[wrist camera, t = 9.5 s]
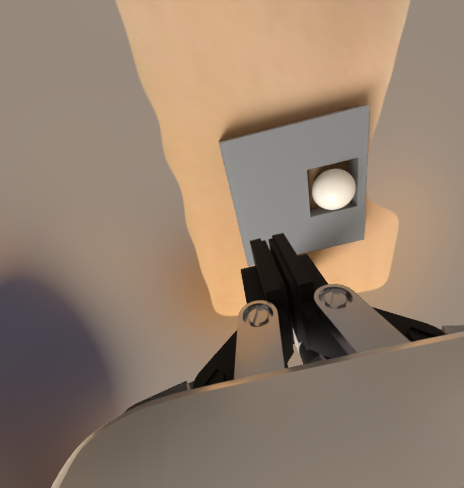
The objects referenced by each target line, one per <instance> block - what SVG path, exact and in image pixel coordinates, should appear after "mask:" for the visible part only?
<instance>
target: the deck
mask: <svg viewBox="0 0 464 488" xmlns="http://www.w3.org/2000/svg"><path fill="white" fill-rule="evenodd" d="M369 111H370V105H362V106H355V107H352V108H348V109H344V110H340V111H336V112H332V113H328V114H324V115H320V116H316V117H313V118H309V119H305V120H301V121H297V122H293V123H289V124H285V125H281V126H277V127H273V128H270V129H266V130H262V131H258V132H254V133H250V134H246V135H242V136H238V137H234V138H230V139H227V140H223V141H219V145H220V149H221V153H222V157H223V162H224V166H225V170H226V174H227V179H228V183H229V187H230V191H231V196H232V200H233V204H234V208H235V213H236V217H237V221H238V225H239V230H240V234H241V238H242V242H243V247H244V251H245V255H246V259H247V264H248V266H251V265H255V263H254V259H253V254H252V250H251V245H250V241H251V240H255V239H259V238H261V241H263V240H266V243H267V245H268V247H269V249H270V246H269V239H271V238H272V235H276V234H280V233H284V235H285V236H286V238H287V239H288V241H289V243H290V244H291V246H292V247H293V249H294V251H295V252H296V254H297V255H298V254H303V253H307V252H311V251H316V250H320V249H324V248H329V247H333V246H337V245H342V244H346V243H350V242H355V241H359V240H363V239H364V230H365V206H366V182H367V158H368V135H369ZM346 160H348V173H349V174H350V175H351V176H352V177H353V179H354V181H355V185H356V190H355V194H354V196H353V198H352V200H351V201H350V202H349V203H348V204H347V205H346V206H344V207H342V208H340V209H336V210H328V209H324V208H322V207H318V208H314V209H310V205H309V191H308V178H307V170H309V169H314V168H318V167H322V166H326V165H330V164H334V163H338V162H342V161H346Z"/></svg>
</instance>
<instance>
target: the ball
mask: <svg viewBox="0 0 464 488" xmlns="http://www.w3.org/2000/svg"><path fill="white" fill-rule="evenodd" d="M355 190H356V185H355V181H354V179H353V177H352V176H351V175H350V174H349V173H348V172H347V171H345V170H342V169H329V170H326V171H324V172H323V173H321V174H320V175H319V176H318V177H317V178H316V179H315V181H314V183H313V186H312V196H313V199H314V201H315V202H316V203H317V204H318V205H319V206H320V207H322V208H324V209H328V210H336V209H340V208H342V207H344V206H346V205H347V204H348V203H349V202H350V201H351V200H352V198H353V196H354V194H355Z"/></svg>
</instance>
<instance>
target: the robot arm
mask: <svg viewBox="0 0 464 488" xmlns="http://www.w3.org/2000/svg"><path fill="white" fill-rule="evenodd" d="M250 245H251V250H252V254H253V259H254V263H255V266H252V267H248V268H244V269H241V274H242V280H243V285H244V291H245V296H246V302H247V304H246V305H245V306H244V307H243V308H242V309H241V310H240V312H239V316H238V328H237V331H236V332H235V333H234V334H233V335H232V336H231V337H230V338H229V340H228V341H227V342H226V343H225V344H224V345H223V346H222V348H220V350H219V351H218V352H217V353H216V354H215V355H214V356H213V358H212V359H211V360H210V361H209V362H208V363H207V364H206V365H205V367H204V368H203V369H202V370H201V371H200V372H199V374H198V375H197V377H196V378H195V381H192V382H190V383H187V381H184V382H182V383H180V384H178V385H176V386H173V387H171V388H169V389H167V390H165V391H162V392H160V393H158V394H156V395H154V396H151V397H149V398H147V399H145V400H142V401H140V402H138V403H136V404H134V405H133V406H131V407H129V408H128V409H127V410H126V411H125V412H124V413H122V414H121V415H119V416H117V417H116V418H114V419H113V420H111V421H109V422H108V423H106V424H105V425H103V426H102V427H100V428H99V429H98V430H96V431H95V432H94V433H93V434H91V435H90V436H89V437H88V438H87V439H85V440H84V442H82V443H81V444H80V446H79V447H78V448H77V449H76V450H75V451H74V453H73V454H72V455H71V456H70V458H69V459H68V460H67V462H66V463H65V465H64V466H63V468H62V470H61V471H60V473H59V474H58V476H57V478H56V480H55V481H54V483H53V485H52V487H51V488H464V325H463V326H462V325H458V326H442V329H441V330H440V329H438V328H436V327H434V326H432V325H429V324H427V323H424V322H420V321H417V320H413V319H410V318H406V317H403V316H400V315H397V314H393V313H390V312H387V311H383V310H380V309H377V308H373V307H371V306H370V305H369V304H368V303H367V302H365V301H364V300H363V299H362V298H361V297H360V296H359V295H357V293H355V292H354V291H353V290H352V289H350V288H349V287H346V286H344V285H339V284H328V283H327V282H326V280H325V279H324V278H323V276H322V275H321V273H320V272H319V270H318V269H317V268H316V266H315V265H314V263H313V262H312V260H311V259H310V258H309V256H308V255H307V254H304V255H299V256H298V255H297V254H296V252H295V251H294V249H293V247H292V246H291V244H290V243H289V241H288V239H287V238H286V236H285V235H284V233H280V234H276V235H272V238H271V239H269V246H270V249H269V247H268V245H267V243H266V240H263V241H261V238H259V239H255V240H251V241H250ZM293 330H294V333H295V335H296V338H297V341H298V343H302V342H303V343H304V346H305V348H306V350H310V349H311V350H313V351H315V352H318V353H319V357H320V359H321V361H318V362H313V363H309V364H304V365H300V366H295V367H290V368H288V365H287V362H288V361H289V359H290V358H291V356H292V354H293V353H294V350H293V344H295V341H294V334H293Z"/></svg>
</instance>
